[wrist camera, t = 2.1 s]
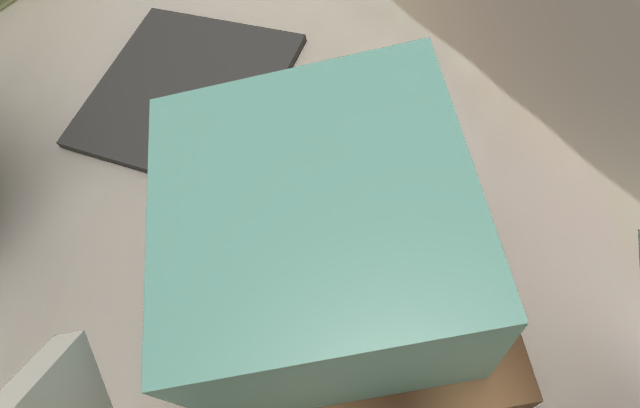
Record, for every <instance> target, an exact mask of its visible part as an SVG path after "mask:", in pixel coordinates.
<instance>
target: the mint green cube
mask: <svg viewBox="0 0 640 408" xmlns="http://www.w3.org/2000/svg"><path fill="white" fill-rule="evenodd" d="M527 324H528V320H527V317H526V314H525V311H524V308H523V305H522V302H521V300H520V297H519V294H518V291H517V288H516V285H515V282H514V279H513V276H512V274H511V271H510V268H509V265H508V262H507V259H506V256H505V253H504V251H503V248H502V245H501V242H500V239H499V236H498V233H497V230H496V227H495V225H494V222H493V219H492V216H491V213H490V210H489V207H488V204H487V201H486V199H485V196H484V193H483V190H482V187H481V184H480V181H479V178H478V175H477V173H476V170H475V167H474V164H473V161H472V158H471V155H470V152H469V150H468V147H467V144H466V141H465V138H464V135H463V132H462V129H461V126H460V124H459V121H458V118H457V115H456V112H455V109H454V106H453V103H452V100H451V98H450V95H449V92H448V89H447V86H446V83H445V80H444V77H443V74H442V72H441V69H440V66H439V63H438V60H437V57H436V54H435V51H434V49H433V46H432V43H431V40H430V37H428V38H423V39H419V40H415V41H410V42H406V43H401V44H397V45H392V46H388V47H383V48H379V49H374V50H370V51H365V52H361V53H356V54H352V55H347V56H343V57H338V58H334V59H329V60H325V61H320V62H316V63H311V64H307V65H302V66H298V67H293V68H289V69H285V70H280V71H276V72H271V73H267V74H262V75H258V76H253V77H249V78H244V79H240V80H235V81H231V82H226V83H222V84H217V85H213V86H208V87H204V88H199V89H195V90H190V91H186V92H181V93H177V94H172V95H168V96H163V97H159V98H155V99H150V108H149V142H148V176H147V209H146V243H145V277H144V311H143V344H142V378H141V393H143V394H146V395H149V396H152V397H155V398H158V399H161V400H164V401H168V402H171V403H174V404H177V405H180V406H183V407H186V408H318V407H324V406H329V405H335V404H341V403H347V402H352V401H358V400H364V399H370V398H375V397H381V396H387V395H393V394H398V393H404V392H410V391H416V390H421V389H427V388H433V387H439V386H444V385H450V384H456V383H462V382H467V381H473V380H479V379H484V378H489V376H490V375H491V374H492V372H493V371H494V370H495V368H496V367H497V365H498V364H499V363H500V361H501V360H502V359H503V357H504V356H505V354H506V353H507V352H508V350H509V349H510V348H511V346H512V345H513V344H514V342H515V341H516V339H517V338H518V337H519V335H520V334H521V333H522V331H523V330H524V329H525V327H526V326H527Z"/></svg>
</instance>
